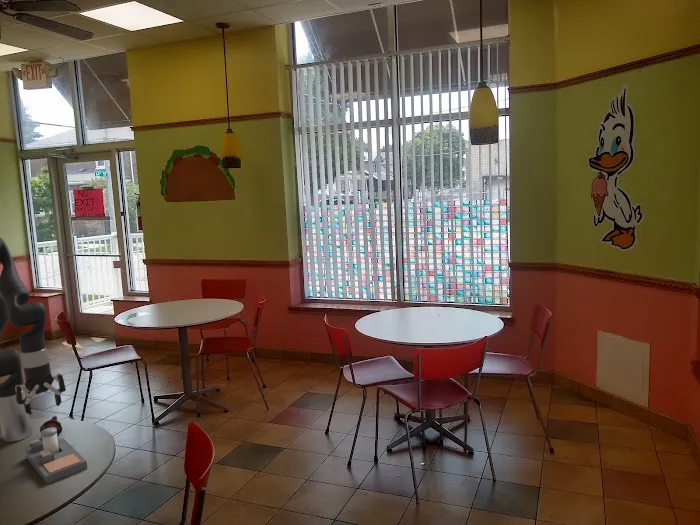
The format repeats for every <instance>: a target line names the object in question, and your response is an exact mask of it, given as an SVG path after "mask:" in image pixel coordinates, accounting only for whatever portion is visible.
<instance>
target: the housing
mask: <svg viewBox="0 0 700 525" xmlns="http://www.w3.org/2000/svg"><path fill="white" fill-rule="evenodd" d="M39 440H40V443H41V444H40V445H37V446H34V447H32V446H31V443H29V444H27V445H28V450H25V455H26V459H27V461H28V462H29V463H30V464H31V465H32V467H33V468H34V470H35V471H36V472H37V473H38V475H39V476H40V478H41V479H42V480H43V481H44V482H45V484H46V485H48V484H50V483H53V482H55V481H58V480H61V479H64V478H66V477H68V476H71V475H75V474H76V473H79V472H81V471H84V470H86V469H88V463H87V460H86V459H85V458H84V456H82V455H81V454H80V453H79V452H78V451H77V449H75V448H74V447H73V446H72V445H71V444H70V443H69V442H68V441H67V440H66V439H65V438H64V437H63V438H60V439H58V447H59V453H56V454H54V455H53V454H52V453H51V452H50V456H48V457H45V458H42V459H41V456H40V452H42V451H44V449H43V441H42V439H39Z"/></svg>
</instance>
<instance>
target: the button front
mask: <svg viewBox="0 0 700 525" xmlns="http://www.w3.org/2000/svg"><path fill="white" fill-rule="evenodd" d="M40 456H41V459H42V458H45V457H48V456H50V451H49V450H48V449H47V450H45V451H42V452H40Z"/></svg>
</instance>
